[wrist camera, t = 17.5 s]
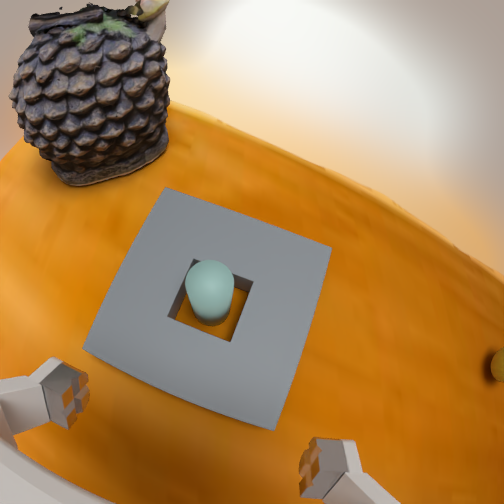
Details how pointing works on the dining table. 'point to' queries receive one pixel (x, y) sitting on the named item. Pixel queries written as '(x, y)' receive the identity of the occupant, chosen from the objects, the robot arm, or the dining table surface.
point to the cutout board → (198, 342)
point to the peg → (210, 291)
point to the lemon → (498, 365)
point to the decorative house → (95, 90)
